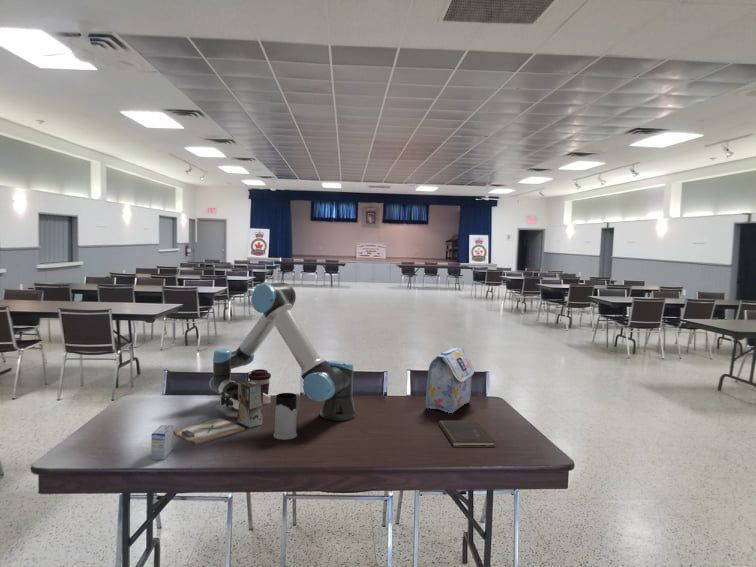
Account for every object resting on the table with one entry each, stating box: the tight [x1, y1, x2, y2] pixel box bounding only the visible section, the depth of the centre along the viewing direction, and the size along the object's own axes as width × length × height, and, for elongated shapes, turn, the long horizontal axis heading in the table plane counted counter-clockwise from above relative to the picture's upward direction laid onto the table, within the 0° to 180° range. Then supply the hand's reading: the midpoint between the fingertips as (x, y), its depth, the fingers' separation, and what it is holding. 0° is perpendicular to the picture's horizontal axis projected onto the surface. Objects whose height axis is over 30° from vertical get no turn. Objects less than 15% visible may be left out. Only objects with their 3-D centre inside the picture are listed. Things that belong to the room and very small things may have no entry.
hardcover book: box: [438, 420, 497, 446], centre depth 184 cm, size 16×23×2 cm
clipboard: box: [174, 417, 246, 445], centre depth 178 cm, size 16×20×2 cm
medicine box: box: [150, 424, 175, 461], centre depth 155 cm, size 8×4×9 cm, turn 5°
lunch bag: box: [425, 347, 475, 414], centre depth 220 cm, size 22×17×26 cm
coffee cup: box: [247, 368, 272, 406], centre depth 213 cm, size 10×10×15 cm
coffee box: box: [237, 379, 264, 428], centre depth 188 cm, size 9×6×16 cm
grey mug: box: [272, 392, 301, 440], centre depth 179 cm, size 9×14×15 cm, turn 160°
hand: (254, 402), depth 185 cm, fingers open, 13 cm apart
